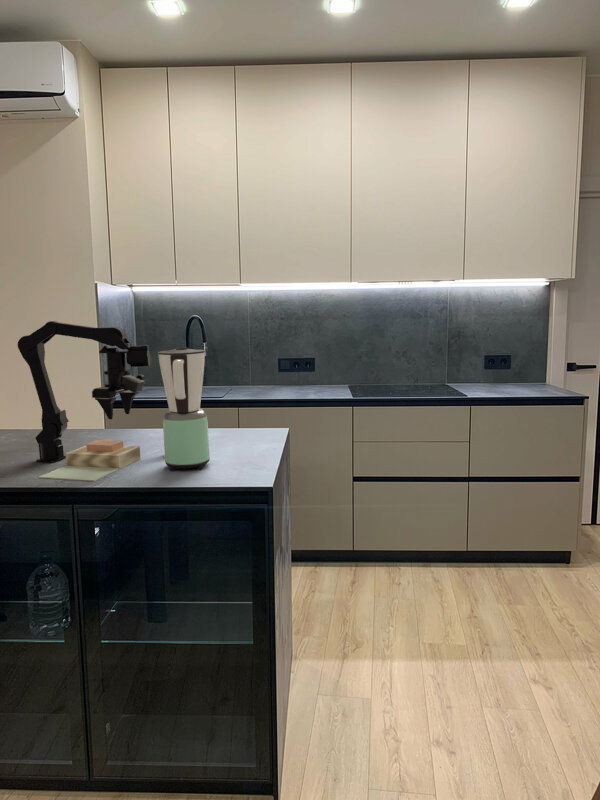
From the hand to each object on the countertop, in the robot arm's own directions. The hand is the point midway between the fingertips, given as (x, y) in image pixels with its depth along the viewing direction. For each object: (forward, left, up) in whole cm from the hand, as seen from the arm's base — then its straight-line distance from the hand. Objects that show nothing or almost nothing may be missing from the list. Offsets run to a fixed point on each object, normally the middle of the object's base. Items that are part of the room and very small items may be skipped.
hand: (119, 416), depth 190 cm
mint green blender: (+27, -8, -13) cm, 31 cm away
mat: (-1, -20, -13) cm, 24 cm away
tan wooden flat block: (-1, -8, -13) cm, 15 cm away
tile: (-1, -7, -9) cm, 11 cm away
